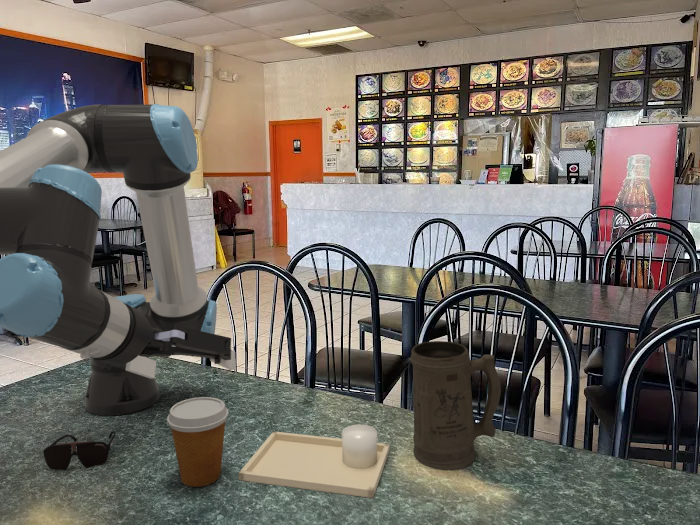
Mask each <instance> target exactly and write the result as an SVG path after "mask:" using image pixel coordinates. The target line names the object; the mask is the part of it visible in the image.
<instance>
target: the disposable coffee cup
mask: <svg viewBox="0 0 700 525" xmlns="http://www.w3.org/2000/svg"><path fill="white" fill-rule="evenodd" d="M228 415H229V410H228V408H227V407H226V404H225V402H224V401H223V400H222V399H220V398H216V397H209V396H208V397H207V396H200V397H192V398H187V399H185V400H181V401H179V402H177V403H175V404H173V406H172V407H171V408H170V409H169V414H168V416H167V418H166V420H167V423H168V425H169V427H170V429H171V434H172V439H173V444H174V449H175V455H176V460H177V465H178V470H179V474H180V476H179V477H180V480H181V482H182V484H183V485H185V486H188V487H193V488H194V487H205V486H208V485H211V484H213V483H215V482H217V481H218V479H220V477H221V473H222V463H223V462H222V461H223V451H224V450H223V449H224V440H225V439H224V438H225V430H226V429H225V428H226V420H227V417H228Z"/></svg>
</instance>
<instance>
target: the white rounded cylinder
mask: <svg viewBox="0 0 700 525" xmlns="http://www.w3.org/2000/svg"><path fill="white" fill-rule="evenodd" d="M341 439H342V461H343V463H344V464H345V465H346V466H348V467H351V468H357V469H363V468H368V467H371V466H373V465H374V464H376V462H377V443H378V431H377V429H376V428H375V427H373V426H371V425H367V424H352V425H348V426H346V427H344V428H343V429H342V431H341Z"/></svg>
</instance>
